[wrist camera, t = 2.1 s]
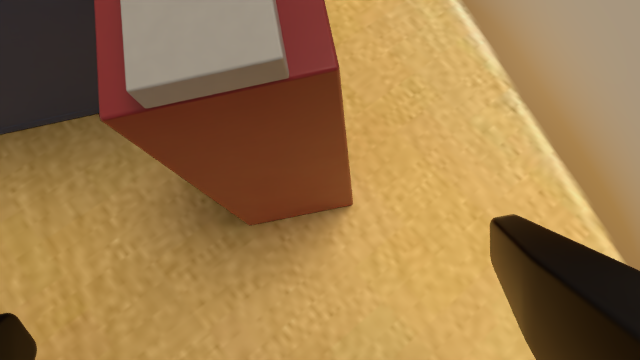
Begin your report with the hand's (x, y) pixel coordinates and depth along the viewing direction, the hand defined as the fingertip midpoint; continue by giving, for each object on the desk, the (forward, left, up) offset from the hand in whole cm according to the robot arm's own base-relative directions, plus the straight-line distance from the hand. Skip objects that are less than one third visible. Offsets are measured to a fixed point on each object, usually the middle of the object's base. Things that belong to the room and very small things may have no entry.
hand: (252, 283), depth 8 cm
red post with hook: (+8, 0, -12) cm, 14 cm away
